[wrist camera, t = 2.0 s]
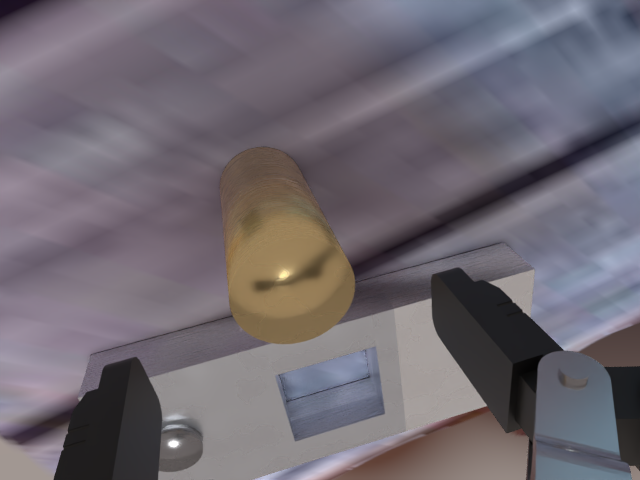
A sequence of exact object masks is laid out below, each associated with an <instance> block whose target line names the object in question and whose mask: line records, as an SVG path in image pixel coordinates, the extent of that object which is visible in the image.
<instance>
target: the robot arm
mask: <svg viewBox="0 0 640 480" xmlns="http://www.w3.org/2000/svg"><path fill="white" fill-rule="evenodd" d="M431 300H432V319H433V324H434V327H435V330H436V332H437V335H438V336H439V338H440V340H441V341H442V343H443V344H444V345H445V347H446V348H447V350H448V351H449V352H450V354H451V355H452V357H453V358H454V360H455V361H456V362H457V364H458V365H459V367H460V368H461V369H462V371H463V372H464V374H465V375H466V377H467V378H468V379H469V381H470V382H471V384H472V385H473V387H474V388H475V389H476V391H477V392H478V394H479V395H480V396H481V398H482V399H483V401H484V402H485V404H486V405H487V406H488V408H489V409H490V411H491V412H492V413H493V415H494V416H495V418H496V419H497V421H498V422H499V423H500V425H501V426H502V428H503V429H504V431H505V432H506V433H509V432H512V431H515V430H518V429H521V428H522V429H523V431H524V432H525V433H526V435H527V436H528V437H529V440H528V452H527V453H528V454H527V470H526V480H632V477H631V471H630V468H629V466H636V467H637V468H638V469H639V471H640V366H639V367H638V366H637V367H603V366H602V365H601V364H600V363H598V362H597V361H596V360H594V359H592V358H591V357H589V356H586V355H584V354H581V353H578V352H573V351H564V350H563V349H562V348H561V347H560V346H559V345H558V344H557V343H556V342H555V341H554V340H553V339H552V338H551V337H550V336H548V335H547V334H546V333H545V332H544V331H543V330H542V329H541V328H540V327H539V326H538V325H537V324H536V323H535V322H534V321H533V320H532V319H531V318H530V317H529V316H528V315H527V314H526V313H523V310H522V309H521V308H520V307H519V306H518V305H517V304H516V303H513V301H512V299H511V298H510V297H509V296H507V295H506V294H505V293H504V292H503V291H502V290H501V289H500V288H499V287H497V286H495V285H492V284H490V283H488V282H486V281H484V280H479V281H475V282H474V281H473V280H472V279H471V278H470V277H469V276H468V275H467V274H466V273H465V272H464V271H463V270H462V269H461V268H459V267H457V268H453V269H449V270H446V271H442V272H439V273H435V274H433V275H432V276H431ZM161 431H162V410H161V405H160V401H159V398H158V396H157V394H156V392H155V390H154V388H153V386H152V384H151V382H150V380H149V378H148V376H147V374H146V372H145V370H144V368H143V366H142V364H141V362H140V360H139V359H138V358H137V357H133V358H129V359H125V360H122V361H118V362H115V363H111V364H108V365H105V366H104V368H103V370H102V374H101V378H100V382H99V387H98V389H95V390H91V391H88V392H86V393H85V395H84V396H83V398H82V399H81V401H80V402H79V403H78V405H77V406H76V408H75V409H74V411H73V413H72V417H71V420H70V424H69V427H68V434H66V438H65V441H64V445H63V448H64V450H63V451H62V452H61V455H60V459H59V462H58V466H57V469H56V473H55V476H54V480H158V473H159V459H160V445H161Z"/></svg>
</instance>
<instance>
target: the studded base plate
mask: <svg viewBox="0 0 640 480" xmlns="http://www.w3.org/2000/svg"><path fill="white" fill-rule="evenodd" d="M457 267H459V268H461V269H462V270H463V271H464V272H465V273H466V274H467V275H468V276H469V277H470V278H471V279H472V280H473V281H474V282H475V281H479V280H484V281H486V282H488V283H490V284H492V285H495V286H497V287H499V288H500V289H501V290H502V291H503V292H504V293H505V294H506V295H507V296H509V297H510V298H511V299H512V301H513V303H516V304H517V305H518V306H519V307H520V308H521V309H522V310H523V313H526V314H527V315H528V316H529V317H530V315H531V305H532V294H533V284H534V274H535V269H534V268H533V267H532V266H531V265H529V264H528V263H527V262H526V261H525V260H524V259H522V258H521V257H520V256H519V255H518V254H516V253H515V252H514V251H513V250H512V249H511V248H509V247H508V246H507V245H506V244H505V243H500V244H496V245H492V246H488V247H485V248H481V249H477V250H474V251H470V252H466V253H463V254H459V255H455V256H452V257H448V258H444V259H441V260H437V261H433V262H430V263H426V264H422V265H419V266H415V267H411V268H408V269H404V270H400V271H397V272H393V273H389V274H386V275H382V276H378V277H375V278H371V279H367V280H364V281H360V282H356V283H355V292H354V297H353V300H352V302H351V305H350V307H349V309H348V311H347V312H346V313H345V315H344V316H343V317H342V319H341V320H340V321H339V322H338V323H337V324H336V325H335V326H333V327H332V328H331V329H330V330H328V331H327V332H325V333H323V334H322V335H320V336H318V337H316V338H313V339H311V340H308V341H304V342H300V343H294V344H274V343H269V342H265V341H262V340H259V339H257V338H255V337H253V336H251V335H250V334H248V333H247V332H245V331H244V330H243V329H242V328H241V327H240V326H239V325H238V323H237V322H236V320H235V319H234V317H233V316H232V317H228V318H224V319H221V320H217V321H213V322H210V323H206V324H202V325H199V326H195V327H191V328H188V329H184V330H180V331H177V332H173V333H169V334H166V335H162V336H158V337H155V338H151V339H147V340H144V341H140V342H136V343H133V344H129V345H125V346H122V347H118V348H114V349H111V350H107V351H103V352H100V353H96V354H92V355H91V357H90V360H89V363H88V366H87V370H86V373H85V376H84V380H83V383H82V386H81V389H80V393H79V396H78V399H79V401H81V399H82V398H83V396H84V395H85V393H86V392H88V391H91V390H95V389H98V387H99V382H100V378H101V374H102V370H103V368H104V366H105V365H108V364H111V363H115V362H118V361H122V360H125V359H129V358H133V357H137V358H138V359H139V360H140V362H141V364H142V366H143V368H144V370H145V372H146V374H147V376H148V378H149V380H150V382H151V384H152V386H153V388H154V390H155V392H156V394H157V396H158V398H159V401H160V405H161V410H162V431H161V445H160V459H159V473H158V480H252V479H255V478H259V477H262V476H265V475H268V474H271V473H275V472H278V471H281V470H284V469H287V468H291V467H294V466H297V465H300V464H303V463H306V462H310V461H313V460H316V459H319V458H322V457H326V456H329V455H332V454H335V453H338V452H342V451H345V450H348V449H351V448H354V447H357V446H361V445H364V444H367V443H370V442H373V441H377V440H380V439H383V438H386V437H389V436H392V435H396V434H399V433H402V432H405V431H408V430H412V429H415V428H418V427H421V426H424V425H428V424H431V423H434V422H437V421H440V420H443V419H447V418H450V417H453V416H456V415H459V414H463V413H466V412H469V411H472V410H475V409H479V408H482V407H485V406H487V405H486V404H485V402H484V401H483V399H482V398H481V396H480V395H479V394H478V392H477V391H476V389H475V388H474V387H473V385H472V384H471V382H470V381H469V379H468V378H467V377H466V375H465V374H464V372H463V371H462V369H461V368H460V367H459V365H458V364H457V362H456V361H455V360H454V358H453V357H452V355H451V354H450V352H449V351H448V350H447V348H446V347H445V345H444V344H443V343H442V341H441V340H440V338H439V336H438V335H437V332H436V330H435V327H434V324H433V319H432V300H431V276H432V275H433V274H435V273H439V272H442V271H446V270H449V269H453V268H457ZM361 350H366V357H367V363H368V370H369V376H370V378H366V379H363V380H359V381H356V382H353V383H349V384H346V385H343V386H339V387H336V388H333V389H329V390H326V391H322V392H319V393H316V394H312V395H309V396H306V397H302V398H299V399H296V400H292V401H289V402H287V400H286V397H285V394H284V390H283V387H282V384H281V380H280V377H279V374H282V373H286V372H289V371H292V370H296V369H299V368H303V367H306V366H310V365H313V364H317V363H320V362H324V361H327V360H330V359H334V358H337V357H341V356H344V355H348V354H351V353H355V352H358V351H361Z"/></svg>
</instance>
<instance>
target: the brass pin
mask: <svg viewBox="0 0 640 480" xmlns="http://www.w3.org/2000/svg"><path fill="white" fill-rule="evenodd" d="M220 195H221V208H222V220H223V232H224V244H225V256H226V268H227V280H228V292H229V304H230V309H231V312H232V315H233V317H234V319H235V320H236V322H237V323H238V325H239V326H240V327H241V328H242V329H243V330H244V331H245V332H247V333H248V334H250V335H251V336H253V337H255V338H257V339H259V340H262V341H265V342H269V343H274V344H294V343H300V342H304V341H308V340H311V339H313V338H316V337H318V336H320V335H322V334H323V333H325V332H327V331H328V330H330V329H331V328H332V327H333V326H335V325H336V324H337V323H338V322H339V321H340V320H341V319H342V317H343V316H344V315H345V313H346V312H347V311H348V309H349V307H350V305H351V302H352V300H353V297H354V292H355V277H354V273H353V270H352V268H351V265H350V263H349V262H348V260H347V258H346V256H345V254H344V252H343V250H342V248H341V247H340V245H339V243H338V241H337V239H336V237H335V235H334V233H333V231H332V230H331V228H330V226H329V224H328V222H327V220H326V218H325V216H324V214H323V213H322V211H321V209H320V207H319V205H318V203H317V201H316V199H315V198H314V196H313V194H312V192H311V190H310V188H309V186H308V184H307V182H306V181H305V179H304V177H303V175H302V173H301V171H300V169H299V168H298V166H297V164H296V163H295V162H294V160H293V159H292V158H290V157H289V156H288V155H287V154H285V153H283V152H282V151H280V150H277V149H274V148H269V147H257V148H251V149H248V150H245V151H243V152H241V153H240V154H238V155H236V156H235V157H234V158H233V159H232V160H231V161H230V162H229V163H228V164H227V166H226V167H225V169H224V171H223V173H222V176H221V180H220Z"/></svg>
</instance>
